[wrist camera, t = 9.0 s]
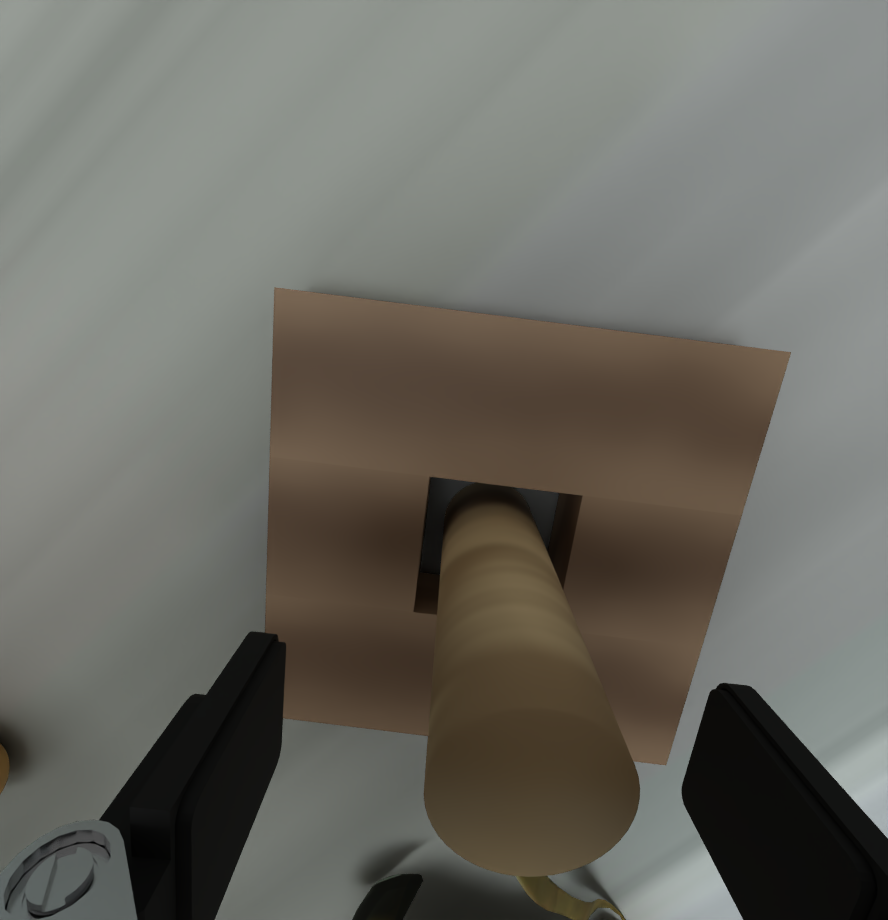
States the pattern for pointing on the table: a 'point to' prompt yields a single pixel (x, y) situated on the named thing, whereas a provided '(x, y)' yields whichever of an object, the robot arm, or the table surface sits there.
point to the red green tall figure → (395, 894)
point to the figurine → (3, 767)
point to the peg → (517, 704)
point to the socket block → (507, 464)
